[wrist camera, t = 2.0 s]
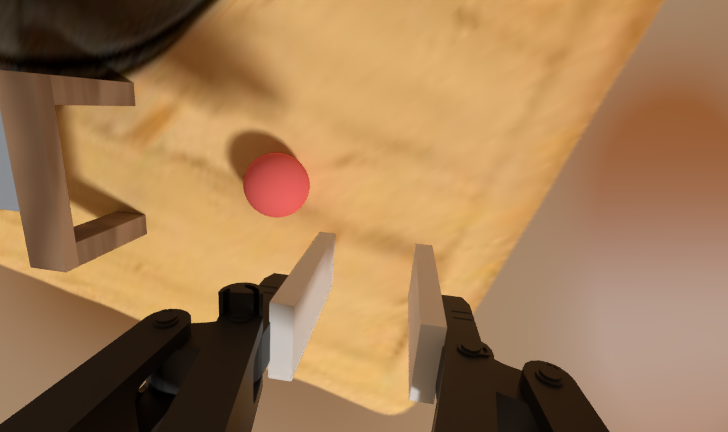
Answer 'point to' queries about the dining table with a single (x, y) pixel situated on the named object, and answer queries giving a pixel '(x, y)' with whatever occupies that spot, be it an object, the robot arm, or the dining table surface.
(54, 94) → the bridge
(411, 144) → the dining table surface
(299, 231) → the dining table surface
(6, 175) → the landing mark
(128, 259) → the dining table surface
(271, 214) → the ball
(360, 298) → the dining table surface
